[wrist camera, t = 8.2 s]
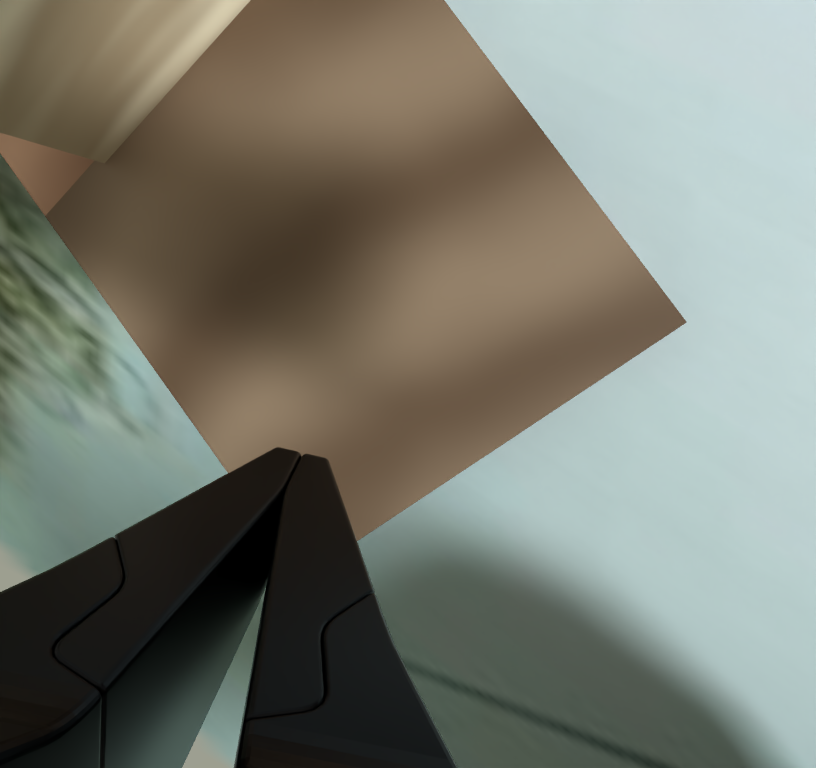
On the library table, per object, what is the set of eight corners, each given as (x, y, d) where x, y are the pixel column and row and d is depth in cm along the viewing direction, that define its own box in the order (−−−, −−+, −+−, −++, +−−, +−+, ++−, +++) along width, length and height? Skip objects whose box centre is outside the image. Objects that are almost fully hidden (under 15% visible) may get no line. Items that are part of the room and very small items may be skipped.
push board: (677, 320, 16) (686, 322, 15) (317, 561, 20) (302, 577, 19) (164, -362, 17) (135, -410, 16) (-83, 2, 21) (-120, -15, 20)
